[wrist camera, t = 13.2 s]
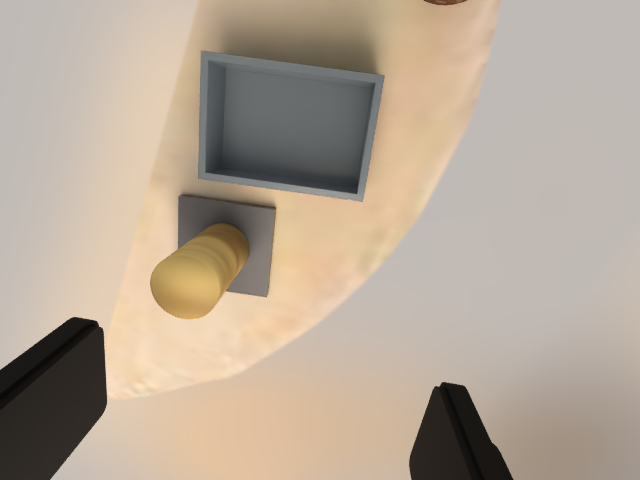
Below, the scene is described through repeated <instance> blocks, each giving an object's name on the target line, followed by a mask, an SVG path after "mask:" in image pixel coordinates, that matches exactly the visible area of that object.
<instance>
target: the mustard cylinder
mask: <svg viewBox="0 0 640 480" xmlns="http://www.w3.org/2000/svg"><path fill="white" fill-rule="evenodd" d="M249 253H250V247H249V242H248V240H247V238H246V236H245V235H244V233H243V232H242V231H241V230H240V229H238V228H237V227H235V226H233V225H230V224H227V223H217V224H213V225H211V226H209V227H208V228H206V229H205V230H204V231H202V232H201V233H199V234H198V235H197V236H195V237H194V238H193V239H191V240H190V241H189V242H187V243H186V244H185V245H183V246H182V247H180V248H179V249H178V250H176V251H175V252H174V253H172V254H171V255H170V256H168V257H167V258H166V259H164V260H163V261H161V262H160V263H159V264H158V265H157V266H156V267H155V269H154V270H153V272H152V275H151V280H150V286H151V291H152V294H153V297H154V299H155V300H156V302H157V303H158V304H159V306H160V307H161V308H162V309H163V310H165V311H166V312H167V313H169V314H171V315H173V316H175V317H178V318H182V319H197V318H200V317H203V316H205V315H206V314H208V313H209V312H210V311H211V310H212V309H213V308H214V306H215V305H216V304H217V302H218V301H219V299H220V298H221V297H222V295H223V294H224V292H225V291H226V290H227V288H228V287H229V285H230V284H231V283H232V281H233V280H234V278H235V277H236V276H237V274H238V273H239V271H240V270H241V269H242V267H243V266H244V264H245V263H246V261H247V260H248V257H249Z"/></svg>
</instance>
